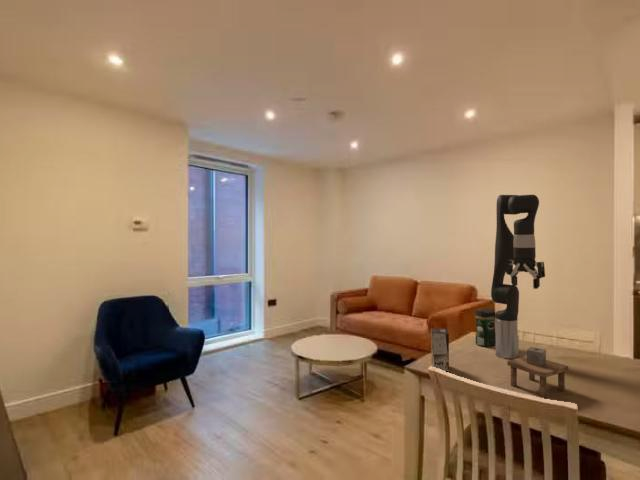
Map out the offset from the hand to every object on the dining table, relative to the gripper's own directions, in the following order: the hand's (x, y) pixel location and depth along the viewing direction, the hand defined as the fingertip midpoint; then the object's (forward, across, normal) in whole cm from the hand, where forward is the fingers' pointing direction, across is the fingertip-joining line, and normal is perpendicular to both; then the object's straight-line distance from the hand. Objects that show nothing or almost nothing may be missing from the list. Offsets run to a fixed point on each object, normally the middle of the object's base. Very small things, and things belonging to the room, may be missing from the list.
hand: (525, 287), depth 144 cm
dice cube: (+27, +8, -6) cm, 29 cm away
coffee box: (+35, -24, -23) cm, 48 cm away
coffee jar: (+37, -36, +22) cm, 56 cm away
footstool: (+36, +8, -7) cm, 37 cm away
